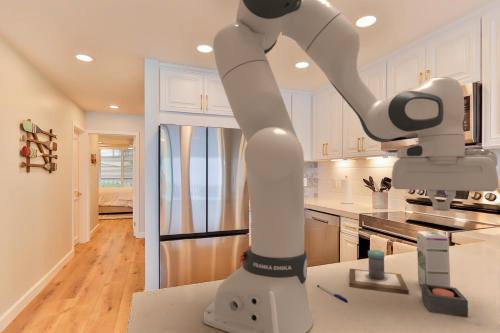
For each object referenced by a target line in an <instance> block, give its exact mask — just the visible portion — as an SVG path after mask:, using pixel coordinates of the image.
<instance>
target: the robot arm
mask: <svg viewBox="0 0 500 333" xmlns="http://www.w3.org/2000/svg"><path fill="white" fill-rule="evenodd" d="M280 34H281V36H285V37H287V38H290V39H291V40H293V41H295V42H296V43H297V45H298V46H299V47H300V48H301V50H303V52H305V54H306V55H307V56H308V57H309V59H311V60H312V61H313V62H314V63H315V64H316V66H317V67H318V68H319V69H320V70H321V71H322V73H323V74H324V75H325V77H326V78H327V79H328V81H329V82H330V84H331V85H332V86H333V87H334V89H335V90H336V92H338V93H339V95H340V96H341V98H343V100H344V101H345V102H346V103H347V105H348V107H350V108H351V109H352V111H353V112H354V113H355V114H356V116H357V118H358V119H359V121H360V122H359V123H360V124H361V126H362V130H363V132H364V133H365V135H367V137H368V138H370V139H371V140H373V141H376V142H379V143H387V142H390V141H392V140H395V139H398V138H400V137H405V136H407V135H412V134H414V133H415V134H417V140H418V141H417V143H416V144H410V145H409V146H406V147H405V146H404V147H402V148H399V149H397V151H396V156H397V158H398V159H397V160H396V161H394V164H393V167H392V171H391V177H390V178H391V181H390V182H391V183H390V184H391V187H392V188H394V189H395V190H416V191H417V190H421V191H424V190H425V191H426V195H427V196H428V198H429V200H430V201H431V202H432V210H433V211H442V212H444V211H447V212H449V211H451V210H450V208H451V206H450V205H451V203H452V202H453V201H454V199H455V198H456V196H457V194H456V193H457V191H458V192H459V191H462V192H464V191H465V192H495V191H496V190H497V189H499V177H498V171H497V166H498V156H497V155H496V153H494V152H493V151H491V150H489V149H485V148H484V149H466V140H465V138H466V136H465V135H466V134H465V131H464V128H463V125H464V124H463V122H464V119H465V116H466V115H465V114H466V113H465V112H466V111H465V99H464V98H465V96H464V91H463V88H462V85H461V83H460V81H458V80H456V79H454V78H452V77H446V76H445V77H444V76H440V77H432V78H428V79H426V80H424V81H423V82H422V83H420V84H419V85H417V86H415V87H413V88H411V89H408V90H405V91H401V92H398V93H396V94H394V95H392V96H390V97H389V98H387V99H385V100H381V99H379V98H377V96H376V95H375V94H374V92H373V91H372V90H371V89H370V87H369V86H368V85H367V84H366V82H365V81H364V80H363V79H362V77H361V76H360V74H359V72H358V56H359V55H358V54H359V51H360V45H361V44H360V43H361V41H360V34H359V32H358V30H357V29H356V27H355V26H354V24H353V23H352V22H351V21H350V20H349V18H348V17H347V16H345V15H344V13H342V11H341V10H339V9H338V8H337V7H336V6H335V5H334V4H333V3H332V2H331V1H329V0H239V1H238V7H237V11H236V19H235V22H233V23H229V24H226V25H224V26H223V27H221V28H220V29H219V30H218V31H217V33H216V34H215V36H214V39H213V42H212V43H213V45H212V46H213V47H212V48H213V53H214V54H213V55H214V60H215V64H216V68H217V72H218V76H219V79H220V81H221V84H222V87H223V90H224V93H225V95H226V97H227V101H228V104H229V107H230V109H231V111H232V114H233V117H234V119H235V121H236V122H237V125H238V126H239V129H240V130H241V133H242V134H243V137H244V139H245V141H246V145H245V148H244V161H245V162H244V163H245V169H246V170H245V171H246V172H245V173H246V181H247V182H246V184H247V192H248V199H249V207H250V208H249V209H250V245H249V246H248V247H247V248H246V249H245V250H244V251H243V252H242V254H241V255H240V256H239V258H240V259H239V262H240V263H242V266H241V267H240V268H238V269H237V270H235V271H234V272H233V273H232V274H230V275H229V276H228V277H226V278H225V279H224V280H223V281H221V284H219V286H218V289H217V290H216V294H215V298H214V300H212V302H211V303H210V304H208V306H207V307H206V309H205V311H204V312H203V318H202V319H203V324H205V325H207V326H210V327H213V328H215V329H217V330H222V331H223V332H226V333H307V332H309V331H310V330H311V329H312V326H313V324H314V323H313V322H314V319H313V316H312V314H311V313H312V312H311V310H310V305H309V300H308V294H307V292H308V291H307V284H306V280H307V278H308V258H307V252H306V250H305V196H304V194H305V192H304V189H305V188H304V185H305V184H304V182H305V180H304V172H305V171H304V170H305V169H304V167H305V166H304V159H305V158H304V156H305V154H304V149H303V146H302V143H301V142H300V140H299V138H298V136H297V133H296V131H295V128H294V125H293V122H292V120H291V118H290V114H289V112H288V109H287V106H286V104H285V102H284V98H283V96H282V93H281V91H280V88H279V86H278V83H277V81H276V80H277V79H276V77H275V75H274V72H273V70H272V67H271V65H270V61H269V60H268V56H267V54H268V53H269V52H271V50H273V48H274V47H275V45H276V44H277V42H278V38H279V36H280ZM437 191H445V195H446V198H445V200H444V202H443V201H440V202H439V201H438V200H437V198H436V197H435V196H437Z"/></svg>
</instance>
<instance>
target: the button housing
mask: <svg viewBox="0 0 500 333" xmlns="http://www.w3.org/2000/svg"><path fill="white" fill-rule="evenodd" d="M435 288H439V289H445V290H448V291H451V292H453V293H454V297H448V296H440V295H433V291H432V290H433V289H435ZM421 299H422V302H423V303H424V305H425V306H426V308H427V310H428V312H429V313H435V314H442V315H449V316H454V317H462V318H463V317H464V318H469V301H468V299H467V298H466V297H465V296H464V294H462V292H461V291H460V290H459V289H458V288H456V287H451V286H450V287H445V286H436V285H428V284H422V286H421Z"/></svg>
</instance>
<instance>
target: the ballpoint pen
mask: <svg viewBox="0 0 500 333" xmlns="http://www.w3.org/2000/svg"><path fill="white" fill-rule="evenodd" d="M316 286H317V287H318V289H321V290H322V291H324V292H326V293H328V294H330V295H331V296H333V297H335V298H337V299H338V300H341V301H342V302H344V303H349V301H348V299H347V298H345V297H344V296H343V295H341V294H339V293H334V292H332V291H331V290H329V289H327V288H325V287H323V286H321V285H318V284H317V285H316Z"/></svg>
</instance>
